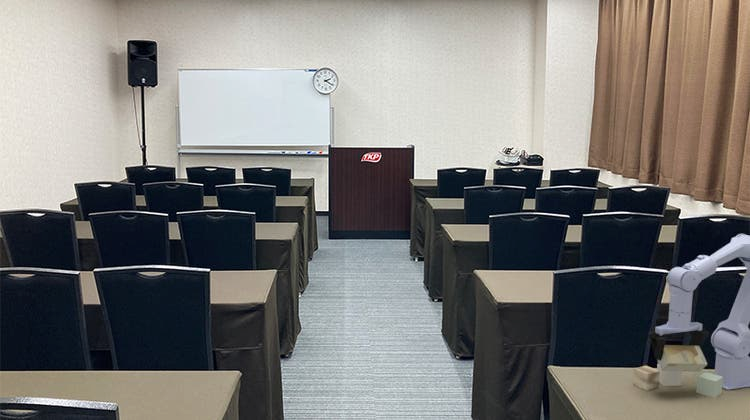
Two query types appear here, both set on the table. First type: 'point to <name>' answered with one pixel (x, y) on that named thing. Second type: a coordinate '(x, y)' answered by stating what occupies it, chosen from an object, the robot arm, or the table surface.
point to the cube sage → (709, 384)
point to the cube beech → (646, 377)
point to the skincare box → (682, 358)
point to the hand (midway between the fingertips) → (676, 356)
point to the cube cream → (669, 377)
